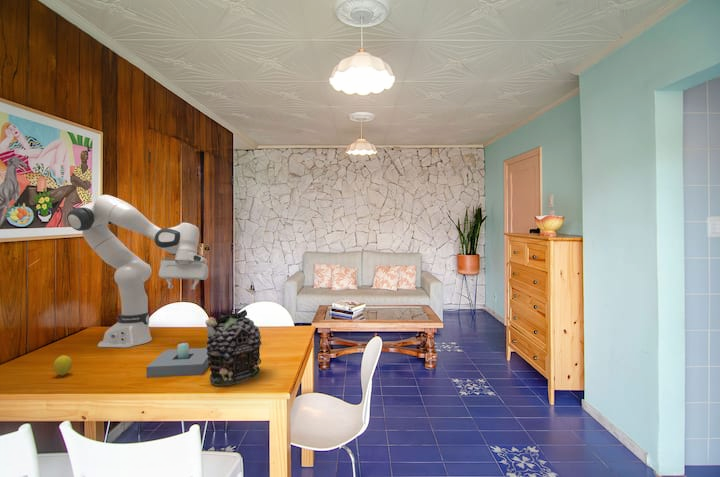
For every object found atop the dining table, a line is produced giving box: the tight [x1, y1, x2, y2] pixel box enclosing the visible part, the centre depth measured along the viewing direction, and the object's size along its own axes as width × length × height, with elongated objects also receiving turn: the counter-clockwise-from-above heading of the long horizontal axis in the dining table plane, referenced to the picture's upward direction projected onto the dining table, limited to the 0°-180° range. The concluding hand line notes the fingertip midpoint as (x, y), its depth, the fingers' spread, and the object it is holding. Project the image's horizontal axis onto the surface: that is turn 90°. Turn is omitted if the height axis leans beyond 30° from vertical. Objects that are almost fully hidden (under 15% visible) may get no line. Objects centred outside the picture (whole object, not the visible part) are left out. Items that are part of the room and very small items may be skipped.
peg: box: [177, 342, 190, 359], centre depth 154 cm, size 4×4×9 cm
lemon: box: [53, 354, 73, 377], centre depth 144 cm, size 6×6×8 cm
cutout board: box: [146, 347, 210, 378], centre depth 154 cm, size 20×20×4 cm
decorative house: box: [205, 309, 263, 386], centre depth 142 cm, size 21×15×25 cm
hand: (181, 289), depth 168 cm, fingers open, 8 cm apart
